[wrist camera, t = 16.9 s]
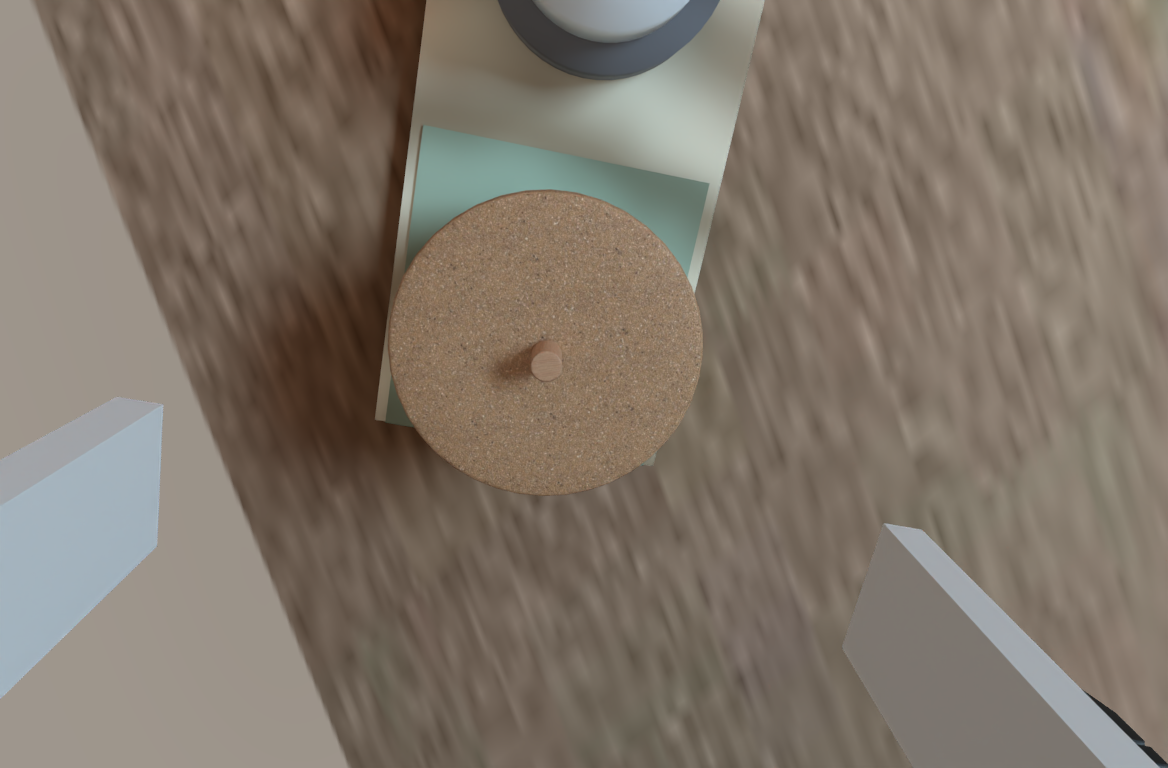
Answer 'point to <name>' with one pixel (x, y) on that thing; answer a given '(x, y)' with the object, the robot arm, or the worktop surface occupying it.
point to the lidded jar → (545, 342)
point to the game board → (571, 123)
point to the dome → (610, 17)
